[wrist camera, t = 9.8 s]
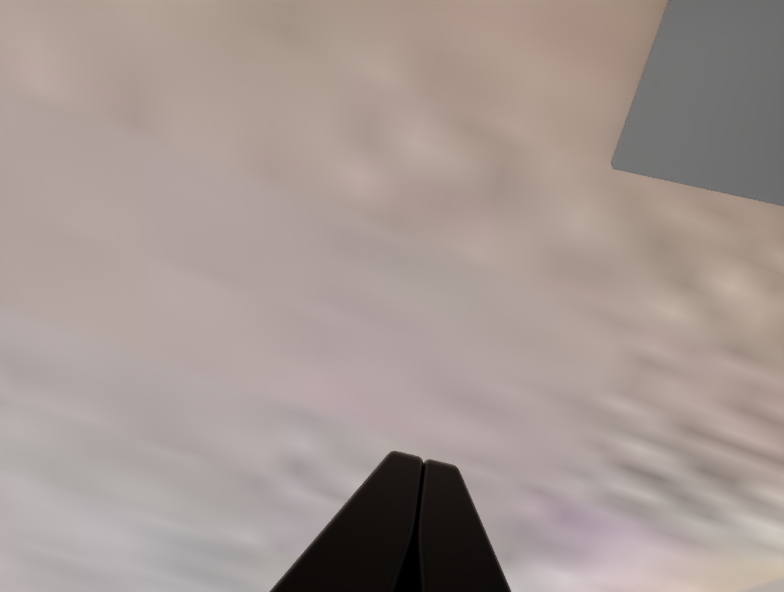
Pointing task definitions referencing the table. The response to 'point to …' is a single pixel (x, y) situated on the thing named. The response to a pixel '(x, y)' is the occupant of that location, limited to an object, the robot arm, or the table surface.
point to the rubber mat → (712, 100)
